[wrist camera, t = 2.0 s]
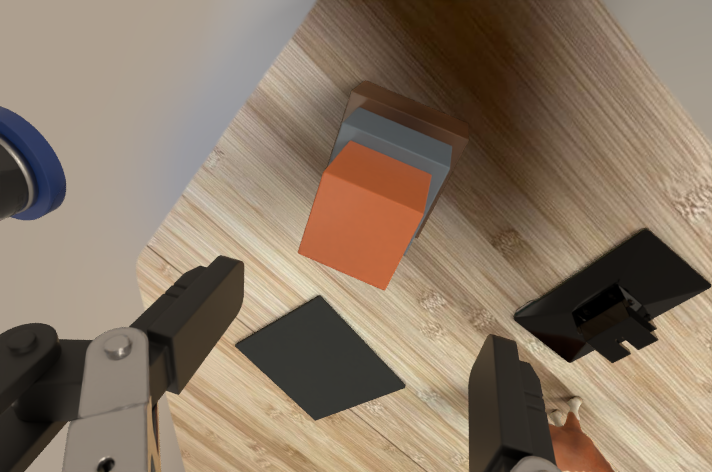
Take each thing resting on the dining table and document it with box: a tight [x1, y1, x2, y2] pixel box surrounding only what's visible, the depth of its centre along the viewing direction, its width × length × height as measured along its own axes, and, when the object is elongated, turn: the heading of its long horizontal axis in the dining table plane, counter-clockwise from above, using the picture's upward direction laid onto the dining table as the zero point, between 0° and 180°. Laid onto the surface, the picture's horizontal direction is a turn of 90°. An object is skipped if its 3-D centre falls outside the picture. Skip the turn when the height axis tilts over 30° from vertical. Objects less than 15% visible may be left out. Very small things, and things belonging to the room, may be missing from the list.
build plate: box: [514, 228, 711, 363], centre depth 31 cm, size 12×7×5 cm, turn 144°
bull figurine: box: [548, 396, 619, 472], centre depth 36 cm, size 4×13×8 cm, turn 89°
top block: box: [298, 141, 432, 290], centre depth 22 cm, size 5×5×5 cm
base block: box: [327, 80, 469, 238], centre depth 29 cm, size 8×8×4 cm
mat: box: [235, 295, 405, 421], centre depth 44 cm, size 14×14×1 cm
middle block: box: [328, 107, 452, 256], centre depth 25 cm, size 6×6×4 cm
